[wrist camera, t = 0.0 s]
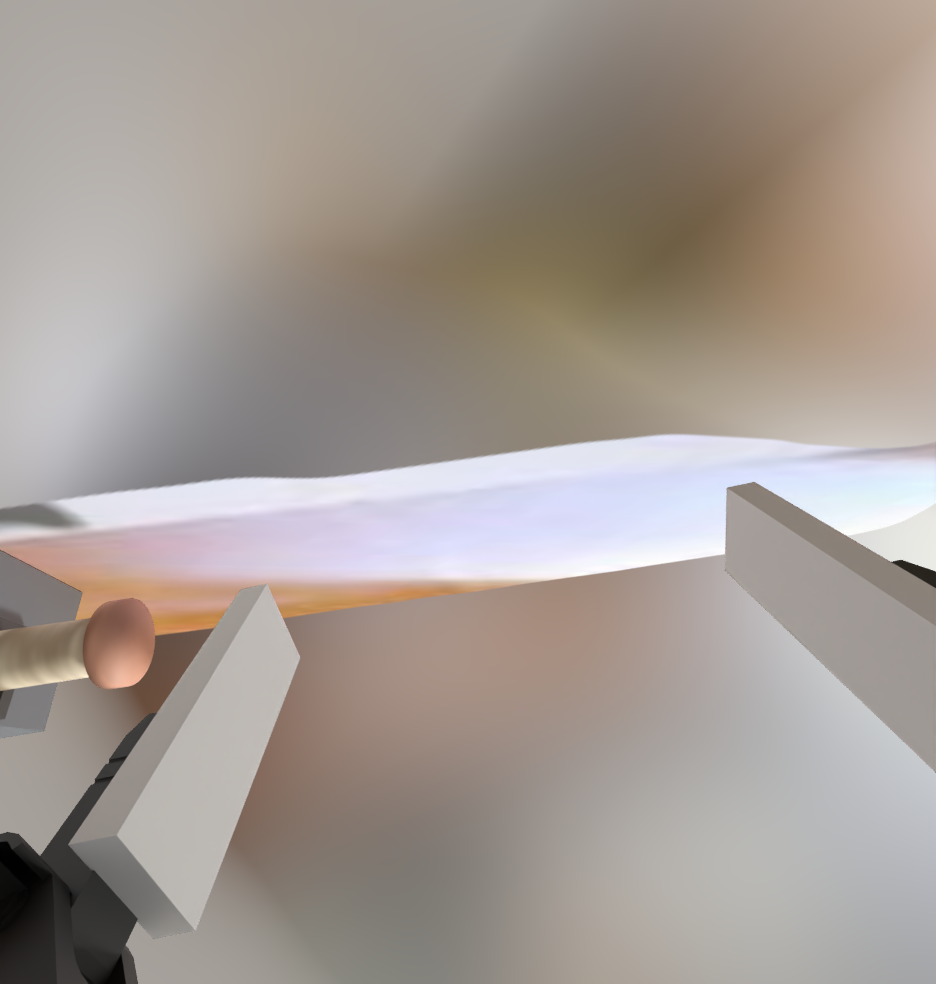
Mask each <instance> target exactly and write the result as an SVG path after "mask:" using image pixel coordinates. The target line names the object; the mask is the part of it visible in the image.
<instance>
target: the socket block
mask: <svg viewBox="0 0 936 984" xmlns="http://www.w3.org/2000/svg"><path fill="white" fill-rule="evenodd" d="M81 596H82V592H80V591H78V590H76V589H74V588H73V587H71V586H69V585H67V584H65V583H63V582H61V581H59V580H57V579H55V578H53V577H51V576H49V575H47V574H45V573H43V572H41V571H39V570H37V569H35V568H34V567H32V566H30V565H28V564H26V563H24V562H22V561H20V560H18V559H16V558H14V557H12V556H10V555H8V554H6V553H4V552H2V551H0V631H2V630H9V629H16V628H24V627H31V626H38V625H45V624H52V623H59V622H67V621H74V620H75V618H76V615H77V611H78V607H79V604H80V600H81ZM57 683H58V682H55V683H48V684H42V685H35V686H29V687H22V688H16V689H9V690H3V691H0V738H5V737H12V736H18V735H24V734H29V733H36V732H41V731H44V730H45V727H46V723H47V719H48V716H49V712H50V708H51V705H52V701H53V697H54V694H55V690H56V687H57Z"/></svg>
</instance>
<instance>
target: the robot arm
mask: <svg viewBox="0 0 936 984" xmlns="http://www.w3.org/2000/svg"><path fill="white" fill-rule="evenodd" d="M725 571H726V572H727V573H728V574H729V575H730V576H731V577H732V578H733V579H734V580H735V581H736V582H737V583H738V584H739V585H741V587H743V588H744V589H745V590H746V591H747V592H748V593H749V594H750V595H751V596H752V597H753V598H754V599H755V600H756V601H757V602H758V603H759V604H760V605H761V606H763V607H764V608H765V609H766V610H767V611H768V612H769V613H770V614H771V615H772V616H773V617H774V618H775V619H776V620H777V621H778V622H779V623H780V624H781V625H782V626H783V627H784V628H785V629H786V630H787V631H789V632H790V633H791V634H792V635H793V636H794V637H795V638H796V639H797V640H798V641H799V642H800V643H801V644H802V645H803V646H804V647H805V648H806V649H807V650H809V652H811V653H812V654H813V655H814V656H815V657H816V658H817V659H818V660H819V661H820V662H821V663H822V664H823V665H824V666H825V667H826V668H827V669H828V670H829V671H831V673H832V674H834V675H835V676H836V677H837V678H838V679H839V680H840V681H841V682H842V683H843V684H844V685H845V686H846V687H847V688H848V689H849V690H850V691H851V692H852V693H853V694H855V696H857V697H858V698H859V699H860V700H861V701H862V702H863V703H864V704H865V705H866V706H867V707H868V708H869V709H870V710H871V711H872V712H873V713H874V714H876V716H877V717H878V718H880V719H881V720H882V721H883V722H884V723H885V724H886V725H887V726H888V727H889V728H890V729H891V730H892V731H893V732H894V733H895V734H896V735H897V736H898V737H899V738H900V739H901V740H903V741H904V742H905V743H906V744H907V745H908V746H909V747H910V748H911V749H912V750H913V751H914V752H915V753H916V754H917V755H918V756H919V757H920V758H921V759H922V760H923V761H924V762H926V763H927V764H928V765H929V766H930V767H931V768H932V769H933V770H934V771H935V772H936V572H935V571H933V570H930V569H927V568H924V567H921V566H918V565H915V564H912V563H909V562H906V561H903V560H898V561H893V562H890V561H888V560H887V559H885V558H883V557H881V556H880V555H878V554H876V553H874V552H873V551H871V550H870V549H868V548H866V547H864V546H863V545H861V544H859V543H857V542H856V541H854V540H852V539H851V538H849V537H847V536H846V535H844V534H842V533H841V532H839V531H837V530H835V529H834V528H832V527H830V526H829V525H827V524H825V523H823V522H822V521H820V520H818V519H817V518H815V517H813V516H812V515H810V514H808V513H806V512H805V511H803V510H801V509H800V508H798V507H796V506H794V505H793V504H791V503H789V502H788V501H786V500H784V499H783V498H781V497H779V496H777V495H776V494H774V493H772V492H771V491H769V490H767V489H765V488H764V487H762V486H760V485H759V484H757V483H755V482H752V483H747V484H742V485H738V486H733V487H728V488H727V502H726V548H725ZM299 660H300V656H299V654H298V651H297V649H296V647H295V645H294V642H293V641H292V638H291V636H290V634H289V631H288V629H287V627H286V625H285V623H284V621H283V618H282V616H281V614H280V611H279V609H278V607H277V605H276V603H275V600H274V598H273V596H272V594H271V592H270V589H269V587H268V585H267V584H264V585H259V586H254V587H249V588H245V589H241V590H240V591H239V593H238V594H237V596H236V597H235V599H234V600H233V602H232V603H231V605H230V606H229V608H228V609H227V611H226V612H225V613H224V615H223V616H222V618H221V619H220V621H219V622H218V624H217V625H216V627H215V628H214V630H213V631H212V633H211V634H210V636H209V637H208V639H207V640H206V642H205V643H204V645H203V646H202V648H201V649H200V650H199V652H198V653H197V655H196V656H195V658H194V660H193V661H192V663H191V664H190V665H189V667H188V668H187V670H186V671H185V673H184V674H183V676H182V677H181V679H180V680H179V682H178V683H177V685H176V686H175V688H174V689H173V690H172V692H171V693H170V695H169V696H168V698H167V699H166V701H165V702H164V704H163V705H162V707H161V708H160V710H159V711H158V712H157V713H152V714H149V715H148V716H146V717H145V718H144V719H143V720H142V721H141V722H140V723H139V724H138V725H137V726H136V727H135V728H134V729H133V730H132V731H131V732H130V733H129V734H127V735H126V737H125V738H124V739H123V741H122V742H121V744H120V745H119V746H118V748H117V749H116V751H115V752H114V754H113V755H112V756H111V758H110V759H109V764H106V765H105V766H104V767H103V769H102V770H101V772H100V773H99V775H98V776H97V777H96V779H95V784H93V785H91V786H90V787H89V788H88V790H87V791H86V793H85V794H84V796H83V797H82V798H81V800H80V801H79V803H78V804H77V805H76V807H75V808H74V809H73V811H72V812H71V814H70V815H69V816H68V818H67V819H66V821H65V822H64V823H63V825H62V826H61V828H60V829H59V831H58V832H57V833H56V835H55V836H54V838H53V839H52V840H51V842H50V843H49V845H48V846H47V848H46V849H45V850H44V852H43V853H42V854H41V856H39V855H38V854H37V853H36V852H35V851H34V850H33V849H32V847H31V846H30V845H29V844H28V843H27V842H26V841H25V840H24V839H23V838H22V837H21V836H20V835H19V834H15V833H10V832H6V833H3V834H0V984H138V981H137V975H136V970H135V964H134V958H133V956H132V954H131V952H130V951H129V949H128V948H127V947H126V943H127V940H128V938H129V936H130V934H131V932H132V930H133V928H134V926H135V924H136V922H139V924H140V925H141V926H142V927H143V928H144V929H145V930H146V931H147V933H148V934H149V935H150V936H151V937H152V938H153V939H156V938H161V937H166V936H172V935H177V934H182V933H187V932H192V931H196V928H197V926H198V923H199V920H200V918H201V915H202V912H203V910H204V907H205V905H206V902H207V900H208V897H209V894H210V891H211V889H212V886H213V884H214V881H215V879H216V876H217V873H218V871H219V868H220V866H221V863H222V860H223V858H224V855H225V853H226V850H227V847H228V845H229V842H230V840H231V837H232V834H233V831H234V829H235V826H236V824H237V821H238V819H239V816H240V813H241V811H242V808H243V806H244V803H245V800H246V798H247V795H248V793H249V790H250V787H251V785H252V782H253V780H254V777H255V774H256V772H257V769H258V767H259V764H260V761H261V759H262V756H263V753H264V751H265V748H266V746H267V743H268V740H269V738H270V735H271V733H272V730H273V728H274V725H275V722H276V720H277V717H278V714H279V712H280V709H281V707H282V704H283V701H284V699H285V696H286V693H287V691H288V688H289V686H290V683H291V681H292V678H293V675H294V673H295V670H296V667H297V665H298V662H299Z"/></svg>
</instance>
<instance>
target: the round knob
mask: <svg viewBox="0 0 936 984" xmlns="http://www.w3.org/2000/svg"><path fill="white" fill-rule="evenodd" d="M154 646H155V630H154V624H153V620H152V617H151V614H150V612H149V610H148V608H147V607H146V606H145V605H144V604H143V603H142V602H141V601H139V600H137V599H133V598H130V599H123V600H115V601H109V602H106V603H104V604H103V605H101V606H100V607H99V608H98V609H97V610H96V611H95V612H94V614H93V615H92V617H91V618H88V619H81V620H74V621H67V622H59V623H52V624H45V625H38V626H31V627H24V628H16V629H9V630H2V631H0V691H3V690H9V689H16V688H22V687H29V686H35V685H42V684H48V683H55V682H61V681H68V680H74V679H81V678H87V677H89V678H90V679H91V681H92V682H93V683H94V684H95V685H96V686H98V687H99V688H102V689H114V688H121V687H126V686H131V685H134V684H136V683H137V682H138V681H139V680H140V679H141V678H142V677H143V676H144V675H145V673H146V671H147V670H148V668H149V665H150V663H151V660H152V657H153V652H154Z"/></svg>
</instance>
